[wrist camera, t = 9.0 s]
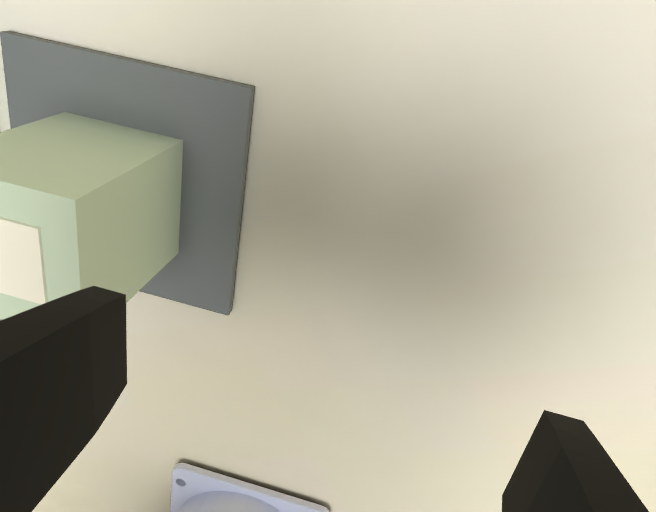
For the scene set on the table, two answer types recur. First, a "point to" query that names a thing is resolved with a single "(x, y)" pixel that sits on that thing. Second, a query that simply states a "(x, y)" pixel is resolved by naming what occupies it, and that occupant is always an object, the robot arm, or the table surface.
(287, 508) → the robot arm
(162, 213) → the pale green box
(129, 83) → the mat
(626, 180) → the table surface
